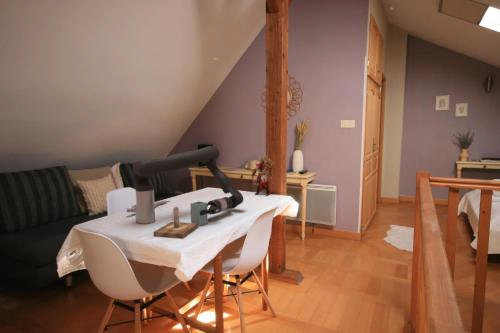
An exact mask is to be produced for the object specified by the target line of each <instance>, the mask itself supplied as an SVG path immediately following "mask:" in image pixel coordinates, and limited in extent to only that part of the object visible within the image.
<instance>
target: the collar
mask: <svg viewBox="0 0 500 333" xmlns="http://www.w3.org/2000/svg"><path fill="white" fill-rule="evenodd" d="M207 203H208V202H206V201H199V200H198V201H195V202H191V203H190V223H198V227H201V226H203V225H204V226H205V225H207V224H208V222H209V221H208V214H205V215H200V211H202V210H206V209H207ZM206 223H207V224H206Z"/></svg>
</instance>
